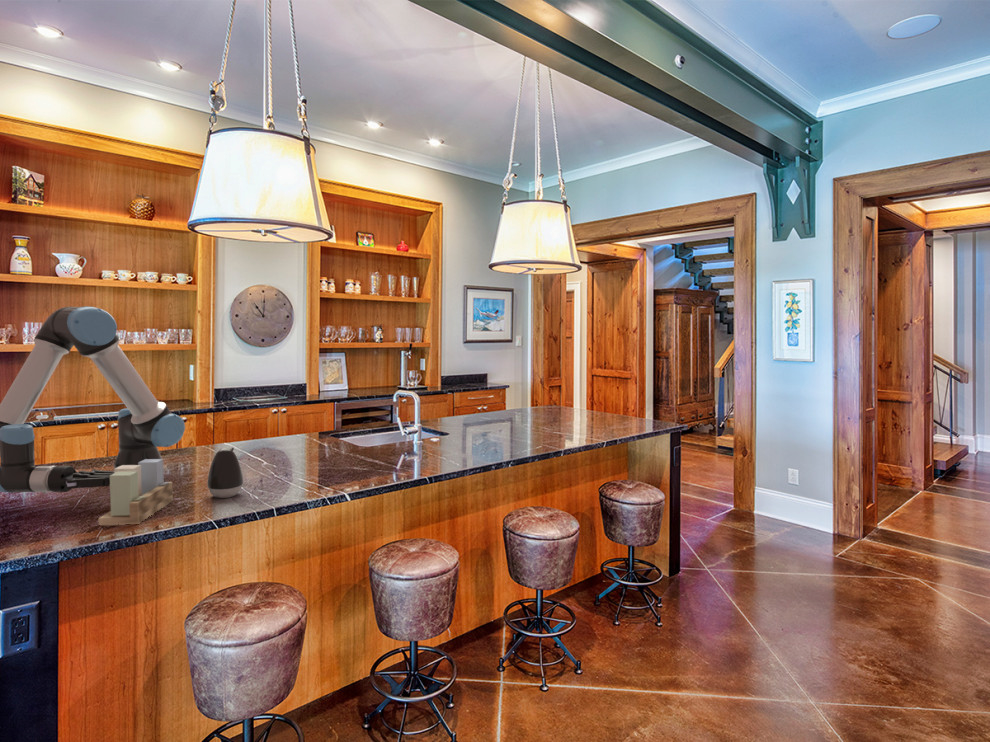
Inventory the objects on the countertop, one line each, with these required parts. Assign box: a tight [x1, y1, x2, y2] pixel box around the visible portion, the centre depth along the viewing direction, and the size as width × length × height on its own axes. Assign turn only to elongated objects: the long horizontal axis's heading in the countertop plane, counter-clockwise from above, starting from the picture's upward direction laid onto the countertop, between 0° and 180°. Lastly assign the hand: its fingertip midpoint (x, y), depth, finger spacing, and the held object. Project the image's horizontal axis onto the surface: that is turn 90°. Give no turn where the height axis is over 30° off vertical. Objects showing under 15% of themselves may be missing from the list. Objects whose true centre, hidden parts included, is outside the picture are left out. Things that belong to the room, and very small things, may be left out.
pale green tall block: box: [109, 471, 138, 516], centre depth 149 cm, size 4×5×11 cm
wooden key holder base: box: [98, 481, 174, 526], centre depth 156 cm, size 20×10×6 cm, turn 7°
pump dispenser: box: [206, 447, 244, 499], centre depth 173 cm, size 10×10×15 cm
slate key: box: [138, 458, 165, 495], centre depth 163 cm, size 4×5×11 cm
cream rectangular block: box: [113, 465, 142, 497], centre depth 155 cm, size 4×5×11 cm
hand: (140, 478), depth 162 cm, fingers closed
